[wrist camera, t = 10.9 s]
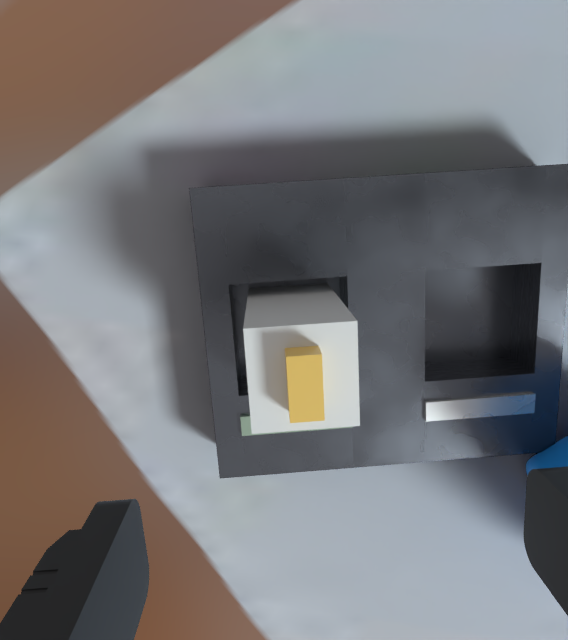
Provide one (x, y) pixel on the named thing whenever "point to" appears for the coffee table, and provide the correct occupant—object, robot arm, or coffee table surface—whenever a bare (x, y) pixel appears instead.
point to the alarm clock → (550, 457)
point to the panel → (398, 309)
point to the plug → (300, 359)
